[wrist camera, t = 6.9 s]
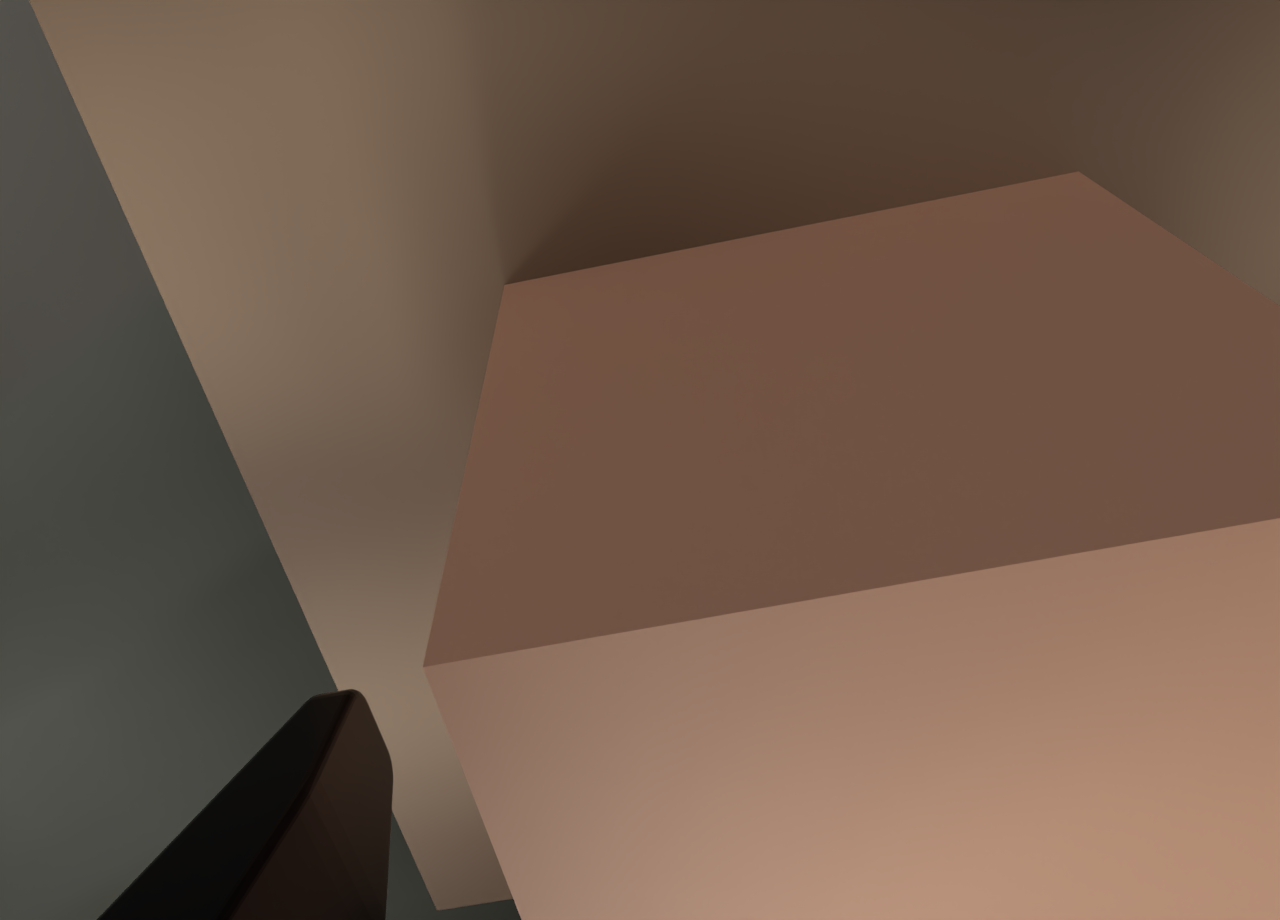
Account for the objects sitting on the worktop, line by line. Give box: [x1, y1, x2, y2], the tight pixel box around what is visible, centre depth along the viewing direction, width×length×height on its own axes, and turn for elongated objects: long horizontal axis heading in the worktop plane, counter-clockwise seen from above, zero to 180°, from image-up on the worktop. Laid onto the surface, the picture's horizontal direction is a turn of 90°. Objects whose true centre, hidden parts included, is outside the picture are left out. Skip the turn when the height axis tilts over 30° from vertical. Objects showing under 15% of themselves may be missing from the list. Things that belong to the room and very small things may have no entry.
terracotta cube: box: [423, 171, 1280, 920], centre depth 9 cm, size 6×6×6 cm
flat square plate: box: [29, 0, 1280, 911], centre depth 12 cm, size 12×12×1 cm
